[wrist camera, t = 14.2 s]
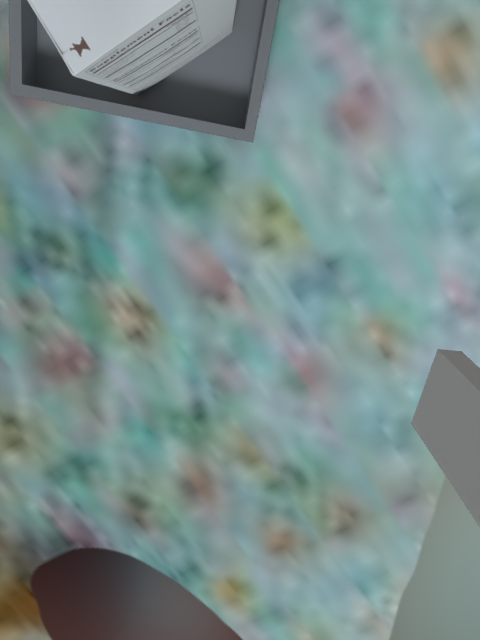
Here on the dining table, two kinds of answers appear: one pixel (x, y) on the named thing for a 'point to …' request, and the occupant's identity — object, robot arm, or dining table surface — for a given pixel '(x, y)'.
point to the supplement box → (133, 36)
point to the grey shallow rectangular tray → (168, 94)
